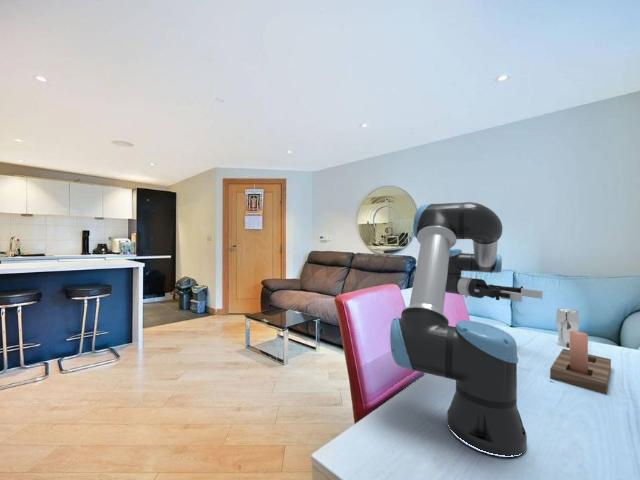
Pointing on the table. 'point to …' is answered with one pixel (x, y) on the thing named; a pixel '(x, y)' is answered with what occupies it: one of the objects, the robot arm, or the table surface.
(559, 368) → the hole board
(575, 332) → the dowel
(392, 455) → the table surface
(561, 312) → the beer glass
